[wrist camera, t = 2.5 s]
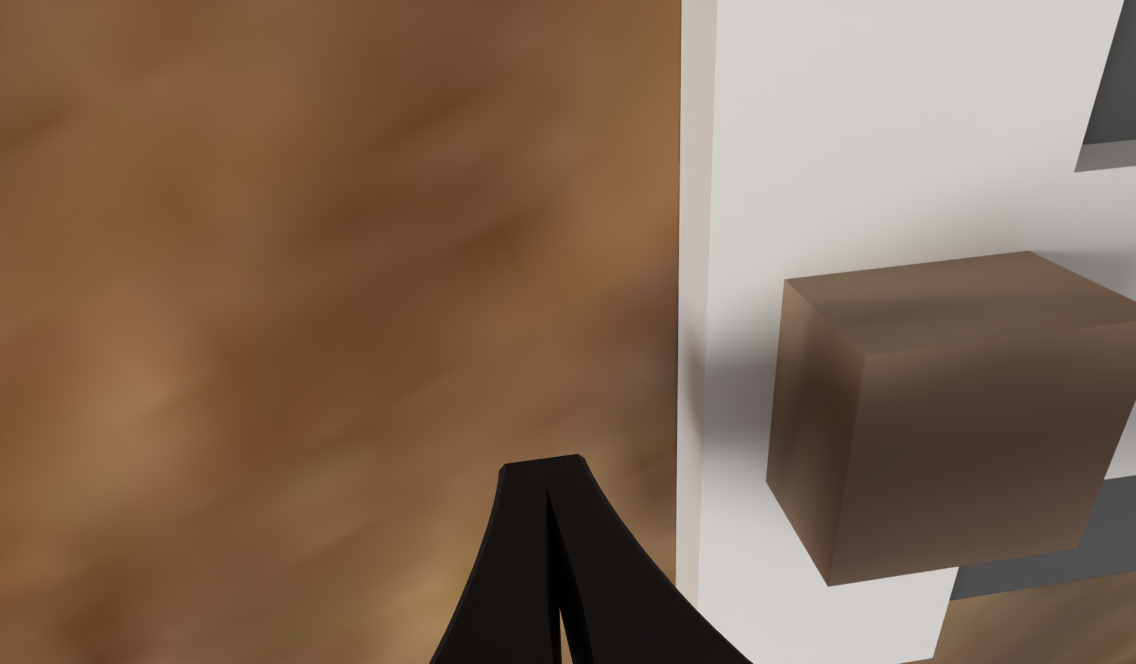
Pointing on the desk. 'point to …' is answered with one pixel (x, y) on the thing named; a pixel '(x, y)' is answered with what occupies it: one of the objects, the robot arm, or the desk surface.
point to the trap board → (877, 260)
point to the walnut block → (946, 411)
